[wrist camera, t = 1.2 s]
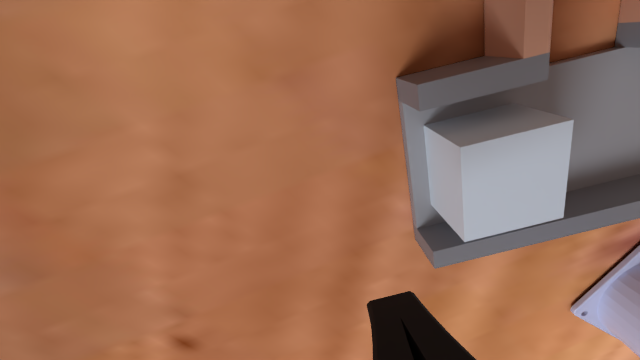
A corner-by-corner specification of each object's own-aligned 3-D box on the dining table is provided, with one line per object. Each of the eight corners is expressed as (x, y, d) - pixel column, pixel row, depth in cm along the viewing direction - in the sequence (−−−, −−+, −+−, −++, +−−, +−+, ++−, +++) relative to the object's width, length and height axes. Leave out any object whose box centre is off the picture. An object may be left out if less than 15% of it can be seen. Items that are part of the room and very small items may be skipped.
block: (513, 103, 17) (573, 119, 14) (511, 184, 19) (563, 217, 16) (423, 125, 17) (460, 147, 14) (430, 204, 19) (464, 242, 16)
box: (415, 239, 21) (434, 268, 18) (387, 5, 15) (408, -2, 13) (758, 154, 21) (829, 171, 18) (854, -110, 15) (977, -142, 13)
